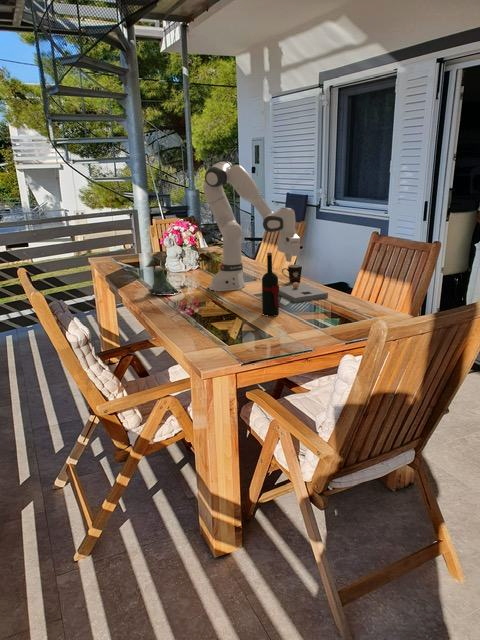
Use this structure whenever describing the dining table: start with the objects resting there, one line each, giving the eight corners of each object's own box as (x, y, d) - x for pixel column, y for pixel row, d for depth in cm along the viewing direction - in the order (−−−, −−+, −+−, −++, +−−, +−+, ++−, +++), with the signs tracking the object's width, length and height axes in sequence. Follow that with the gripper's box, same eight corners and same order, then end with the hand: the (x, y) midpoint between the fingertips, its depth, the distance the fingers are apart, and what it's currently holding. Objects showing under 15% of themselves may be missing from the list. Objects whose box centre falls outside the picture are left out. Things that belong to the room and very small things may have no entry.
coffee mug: (303, 280, 296) (303, 264, 293) (299, 284, 289) (299, 267, 286) (286, 279, 301) (285, 264, 298) (281, 282, 294) (281, 266, 291)
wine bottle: (271, 318, 226) (269, 255, 217) (259, 313, 234) (257, 252, 225) (284, 315, 230) (284, 253, 220) (272, 310, 238) (271, 250, 229)
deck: (295, 302, 251) (295, 297, 250) (273, 292, 273) (273, 287, 272) (327, 297, 258) (328, 292, 257) (304, 287, 280) (304, 283, 279)
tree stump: (190, 292, 282) (182, 264, 273) (163, 307, 271) (154, 279, 262) (171, 286, 294) (164, 259, 285) (145, 300, 283) (136, 273, 275)
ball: (294, 289, 267) (294, 283, 266) (291, 288, 270) (291, 282, 269) (300, 288, 268) (300, 282, 267) (296, 287, 271) (296, 281, 270)
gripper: (274, 235, 277) (275, 259, 281) (291, 239, 259) (292, 265, 263) (284, 234, 279) (285, 258, 283) (301, 238, 261) (302, 263, 265)
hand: (288, 261), depth 273 cm, fingers closed
